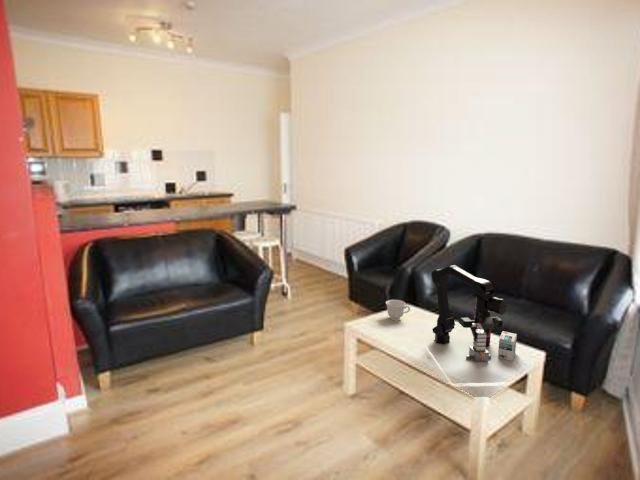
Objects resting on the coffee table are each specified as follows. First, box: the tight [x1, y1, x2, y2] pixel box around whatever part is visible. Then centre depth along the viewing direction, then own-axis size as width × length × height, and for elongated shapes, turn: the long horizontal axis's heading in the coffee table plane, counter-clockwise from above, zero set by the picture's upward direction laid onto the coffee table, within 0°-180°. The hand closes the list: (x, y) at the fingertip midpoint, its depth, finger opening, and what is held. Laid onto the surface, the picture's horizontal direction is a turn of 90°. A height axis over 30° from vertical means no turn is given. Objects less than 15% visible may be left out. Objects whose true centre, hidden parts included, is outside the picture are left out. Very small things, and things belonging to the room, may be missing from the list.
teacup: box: [385, 299, 411, 321], centre depth 237 cm, size 12×15×10 cm
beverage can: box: [476, 324, 492, 348], centre depth 201 cm, size 7×6×15 cm
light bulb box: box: [497, 330, 518, 362], centre depth 190 cm, size 11×7×11 cm, turn 148°
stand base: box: [465, 345, 492, 363], centre depth 187 cm, size 12×12×6 cm
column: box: [472, 330, 487, 352], centre depth 185 cm, size 4×4×10 cm
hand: (479, 339), depth 185 cm, fingers closed on column, 4 cm apart
